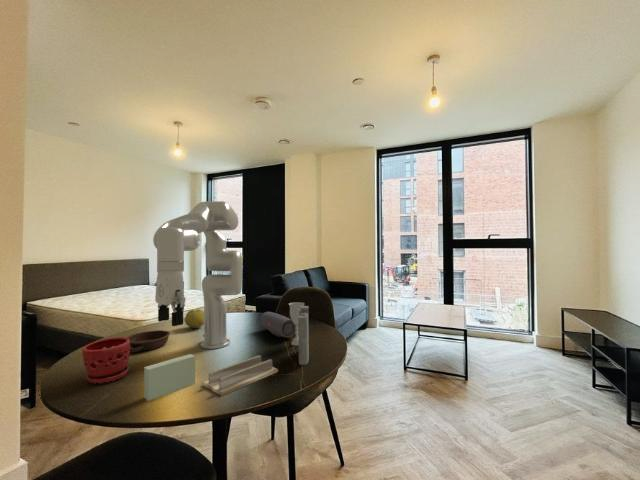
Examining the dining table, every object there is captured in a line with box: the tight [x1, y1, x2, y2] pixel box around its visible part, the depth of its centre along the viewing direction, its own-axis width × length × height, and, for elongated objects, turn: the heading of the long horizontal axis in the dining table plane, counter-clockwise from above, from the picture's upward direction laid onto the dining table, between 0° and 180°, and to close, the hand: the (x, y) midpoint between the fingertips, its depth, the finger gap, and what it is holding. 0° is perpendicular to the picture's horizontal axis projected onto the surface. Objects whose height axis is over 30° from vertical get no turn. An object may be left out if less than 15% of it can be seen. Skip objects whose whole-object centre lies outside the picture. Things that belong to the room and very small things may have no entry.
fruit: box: [184, 308, 204, 329], centre depth 164 cm, size 11×12×10 cm
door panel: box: [143, 353, 196, 402], centre depth 93 cm, size 3×14×9 cm, turn 139°
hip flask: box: [298, 305, 310, 366], centre depth 119 cm, size 16×4×20 cm, turn 3°
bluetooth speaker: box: [259, 311, 296, 338], centre depth 151 cm, size 23×9×10 cm, turn 36°
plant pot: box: [82, 337, 131, 384], centre depth 102 cm, size 13×13×12 cm
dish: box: [126, 329, 171, 353], centre depth 135 cm, size 18×22×5 cm
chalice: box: [288, 301, 305, 346], centre depth 136 cm, size 7×7×18 cm
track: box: [202, 355, 279, 397], centre depth 101 cm, size 11×22×4 cm, turn 140°
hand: (170, 322), depth 93 cm, fingers open, 9 cm apart
